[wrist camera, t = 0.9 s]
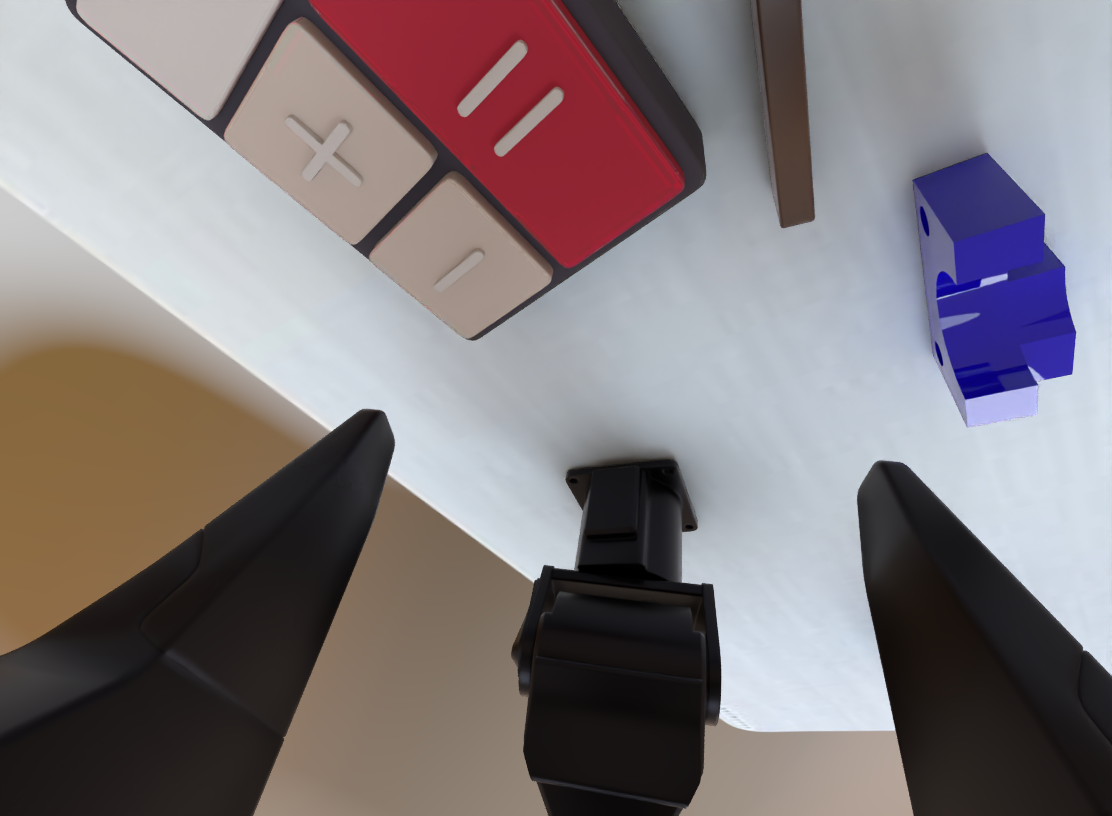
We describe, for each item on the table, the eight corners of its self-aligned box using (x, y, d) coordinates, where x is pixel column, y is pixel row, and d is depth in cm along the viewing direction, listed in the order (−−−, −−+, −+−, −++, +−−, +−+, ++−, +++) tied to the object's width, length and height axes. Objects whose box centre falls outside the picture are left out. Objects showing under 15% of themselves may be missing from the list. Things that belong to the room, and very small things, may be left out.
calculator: (466, 358, 22) (35, 14, 14) (489, 293, 25) (139, -23, 17) (715, 194, 16) (181, -571, 8) (706, 131, 18) (306, -477, 11)
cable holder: (1040, 330, 21) (1094, 404, 18) (933, 355, 22) (967, 427, 20) (1048, 130, 16) (1122, 190, 14) (912, 179, 18) (953, 242, 15)
